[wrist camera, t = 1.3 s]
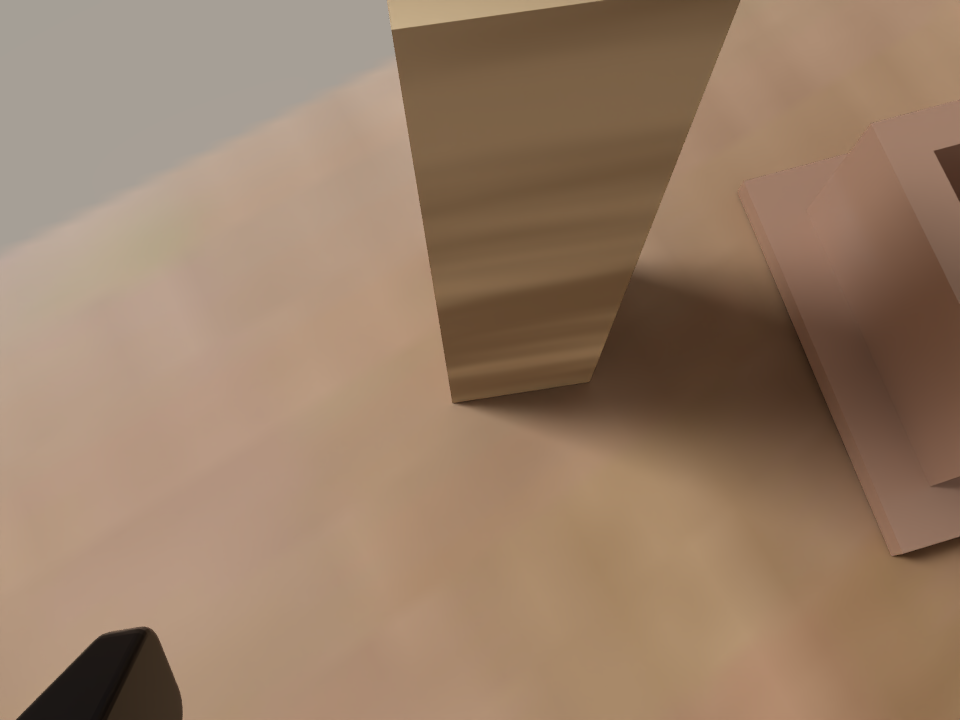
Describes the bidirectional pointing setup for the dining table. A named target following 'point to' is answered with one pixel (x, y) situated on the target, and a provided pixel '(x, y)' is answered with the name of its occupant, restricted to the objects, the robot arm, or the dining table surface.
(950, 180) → the holder cup
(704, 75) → the wooden block
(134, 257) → the dining table surface
